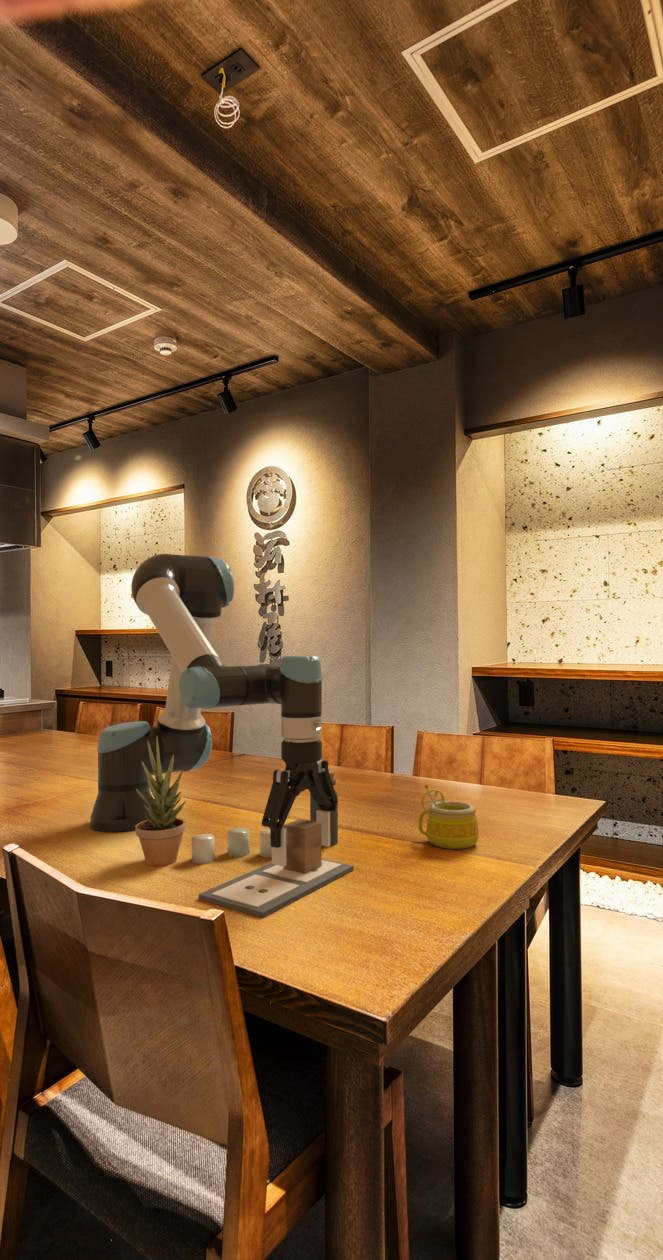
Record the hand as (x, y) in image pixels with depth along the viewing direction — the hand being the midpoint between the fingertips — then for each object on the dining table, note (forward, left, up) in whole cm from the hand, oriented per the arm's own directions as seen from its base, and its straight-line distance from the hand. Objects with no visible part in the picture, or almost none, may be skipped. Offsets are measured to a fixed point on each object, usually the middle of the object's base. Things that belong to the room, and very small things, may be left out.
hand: (302, 854), depth 125 cm
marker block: (0, 0, -2) cm, 2 cm away
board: (0, -7, -3) cm, 7 cm away
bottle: (-7, +18, -4) cm, 20 cm away
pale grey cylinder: (-21, -5, -3) cm, 22 cm away
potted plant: (-27, -10, -4) cm, 29 cm away
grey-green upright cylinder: (-18, +2, -3) cm, 18 cm away
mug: (+15, +31, -4) cm, 35 cm away
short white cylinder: (-12, +5, -3) cm, 14 cm away
